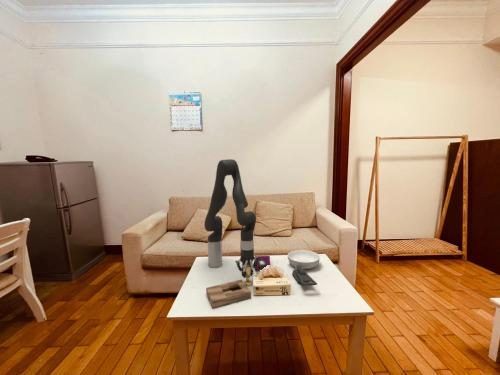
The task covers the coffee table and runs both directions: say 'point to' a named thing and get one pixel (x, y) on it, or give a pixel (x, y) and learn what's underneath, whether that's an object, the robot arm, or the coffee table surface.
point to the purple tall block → (266, 258)
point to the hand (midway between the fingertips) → (247, 276)
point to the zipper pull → (302, 277)
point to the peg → (248, 275)
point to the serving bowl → (303, 258)
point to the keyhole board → (227, 293)
